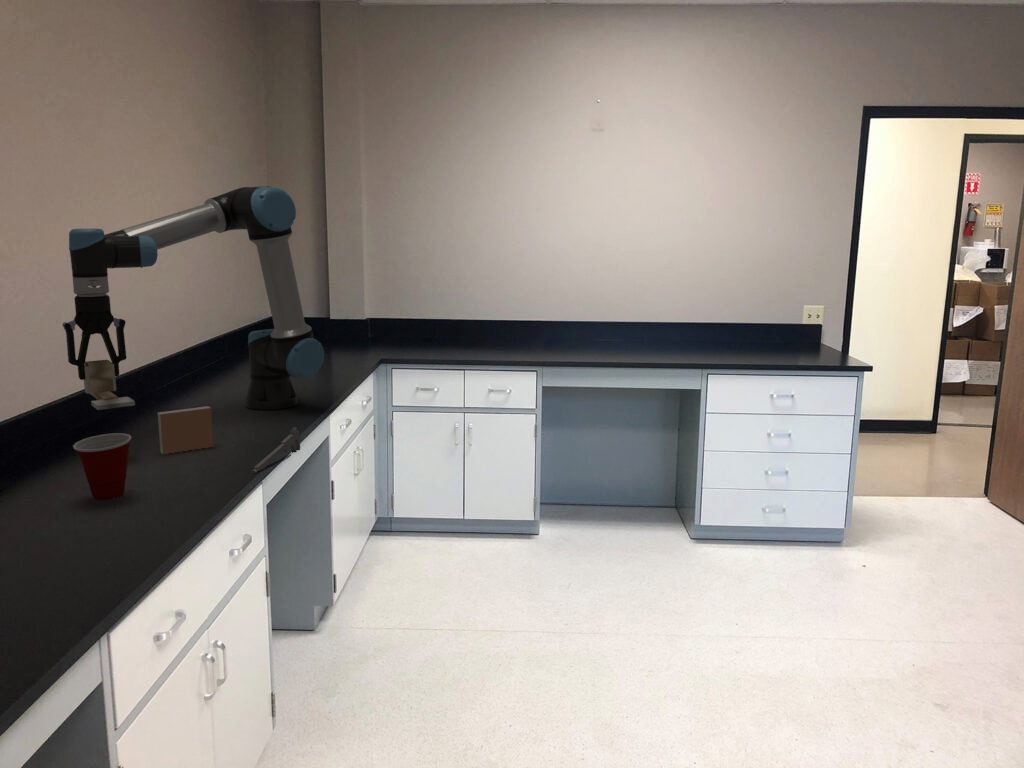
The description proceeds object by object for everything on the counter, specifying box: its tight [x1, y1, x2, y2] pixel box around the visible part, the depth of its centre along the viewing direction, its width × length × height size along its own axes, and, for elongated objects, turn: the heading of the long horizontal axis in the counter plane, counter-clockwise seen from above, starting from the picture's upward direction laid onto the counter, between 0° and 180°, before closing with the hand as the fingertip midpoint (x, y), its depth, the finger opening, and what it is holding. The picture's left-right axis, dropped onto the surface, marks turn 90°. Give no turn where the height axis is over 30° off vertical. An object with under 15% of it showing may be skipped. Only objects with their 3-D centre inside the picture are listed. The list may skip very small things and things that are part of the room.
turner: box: [85, 359, 136, 411], centre depth 204 cm, size 8×23×8 cm, turn 37°
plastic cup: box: [72, 432, 132, 501], centre depth 174 cm, size 11×11×12 cm
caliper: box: [252, 427, 301, 473], centre depth 201 cm, size 20×1×6 cm, turn 165°
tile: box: [157, 406, 214, 455], centre depth 209 cm, size 12×2×10 cm, turn 127°
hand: (100, 391), depth 207 cm, fingers closed on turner, 5 cm apart
